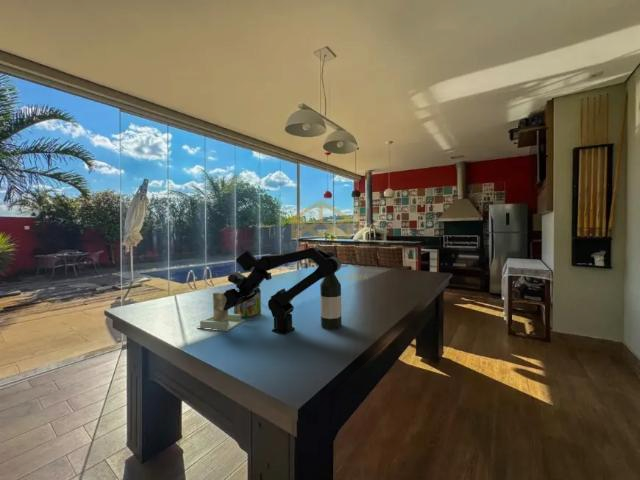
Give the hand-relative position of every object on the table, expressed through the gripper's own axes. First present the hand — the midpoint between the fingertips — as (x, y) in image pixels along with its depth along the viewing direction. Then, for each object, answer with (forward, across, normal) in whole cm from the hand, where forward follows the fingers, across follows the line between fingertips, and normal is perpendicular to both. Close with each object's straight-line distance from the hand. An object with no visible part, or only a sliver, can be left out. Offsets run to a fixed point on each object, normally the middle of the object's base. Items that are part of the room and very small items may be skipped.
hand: (231, 306), depth 113 cm
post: (+9, 0, +1) cm, 9 cm away
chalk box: (+7, -16, +4) cm, 18 cm away
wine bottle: (-22, -9, +34) cm, 42 cm away
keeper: (+9, 0, +2) cm, 9 cm away
